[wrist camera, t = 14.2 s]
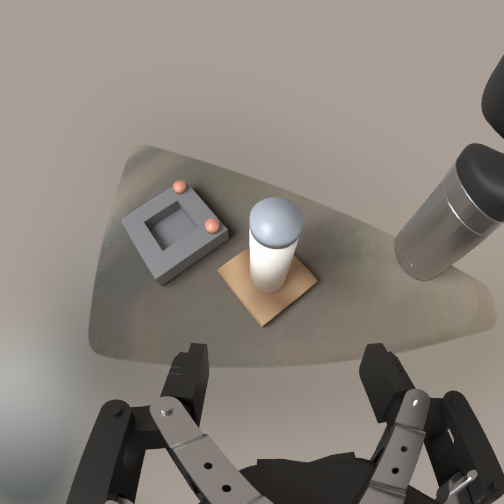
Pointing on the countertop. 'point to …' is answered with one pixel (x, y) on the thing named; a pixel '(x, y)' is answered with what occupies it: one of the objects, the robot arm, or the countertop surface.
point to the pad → (265, 303)
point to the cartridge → (273, 242)
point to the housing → (174, 231)
